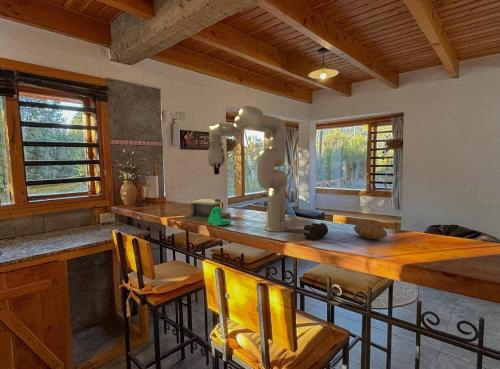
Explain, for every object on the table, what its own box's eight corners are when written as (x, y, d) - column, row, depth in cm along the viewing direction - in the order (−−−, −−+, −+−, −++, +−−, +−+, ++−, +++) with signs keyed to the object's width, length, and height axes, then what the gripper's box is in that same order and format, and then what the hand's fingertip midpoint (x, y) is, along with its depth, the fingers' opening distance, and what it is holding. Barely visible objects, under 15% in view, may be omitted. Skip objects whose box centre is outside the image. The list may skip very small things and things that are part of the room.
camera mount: (231, 225, 161) (231, 207, 160) (221, 227, 156) (221, 208, 155) (218, 222, 169) (217, 205, 169) (208, 224, 164) (207, 206, 163)
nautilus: (362, 232, 145) (394, 238, 135) (346, 237, 128) (381, 245, 119) (364, 216, 144) (396, 222, 135) (348, 220, 128) (383, 226, 118)
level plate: (225, 202, 185) (225, 198, 184) (214, 204, 172) (214, 200, 172) (203, 200, 192) (203, 197, 192) (191, 203, 179) (191, 199, 179)
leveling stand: (230, 216, 187) (230, 201, 187) (214, 221, 169) (213, 205, 169) (202, 213, 197) (202, 200, 196) (184, 219, 179) (184, 203, 178)
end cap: (316, 242, 124) (317, 227, 124) (303, 239, 129) (303, 224, 129) (328, 238, 131) (328, 223, 131) (315, 235, 136) (315, 221, 136)
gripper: (229, 144, 177) (230, 174, 178) (209, 146, 183) (210, 174, 184) (222, 144, 170) (223, 174, 171) (202, 145, 176) (203, 174, 177)
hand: (216, 174), depth 177 cm, fingers closed
